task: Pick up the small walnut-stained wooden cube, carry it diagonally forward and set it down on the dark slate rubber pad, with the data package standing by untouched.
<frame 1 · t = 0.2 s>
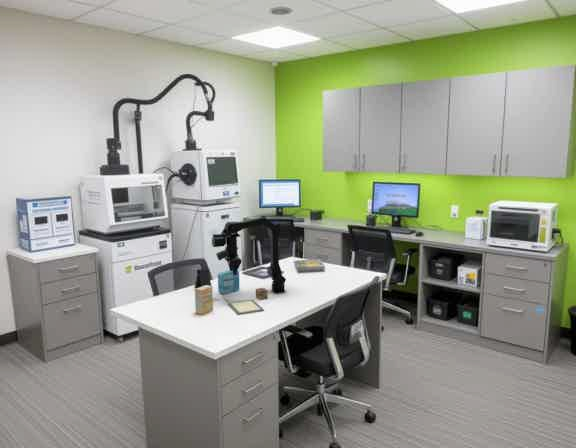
hand: (232, 273, 250), 14 cm above the table, fingers open, 9 cm apart
supplement box: (204, 312, 230), on the table
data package: (229, 292, 264), on the table
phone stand: (203, 288, 271), on the table
slate pad: (245, 307, 236), on the table
walnut cube: (261, 298, 252), on the table
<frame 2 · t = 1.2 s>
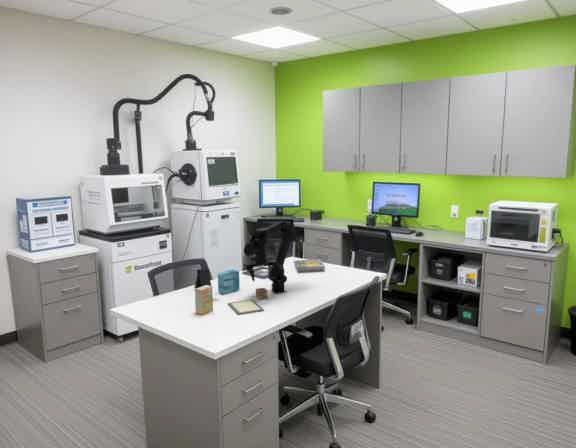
hand: (261, 280, 250), 10 cm above the table, fingers open, 9 cm apart
nothing on the table moved.
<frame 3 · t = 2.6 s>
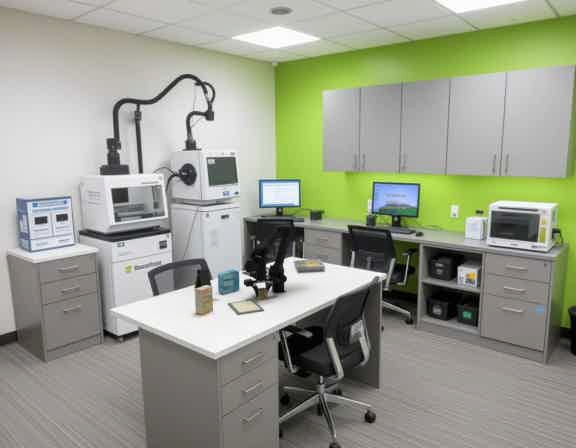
hand: (261, 296, 251), 1 cm above the table, fingers closed on walnut cube, 5 cm apart
walnut cube: (261, 298, 252), on the table, touching gripper
everything else where it was.
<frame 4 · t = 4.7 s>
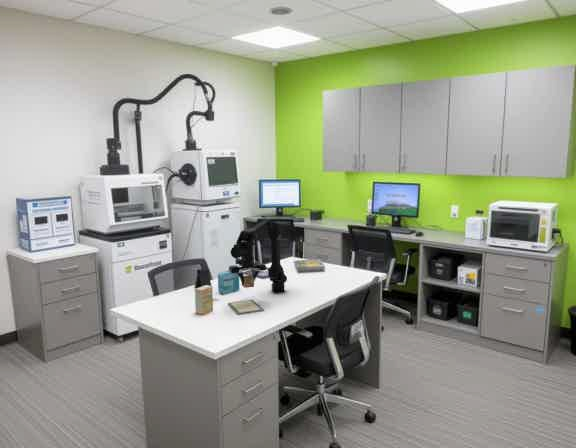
hand: (247, 284, 237), 12 cm above the table, fingers closed on walnut cube, 5 cm apart
walnut cube: (247, 286, 237), point 11 cm above the table, touching gripper
everything else where it was.
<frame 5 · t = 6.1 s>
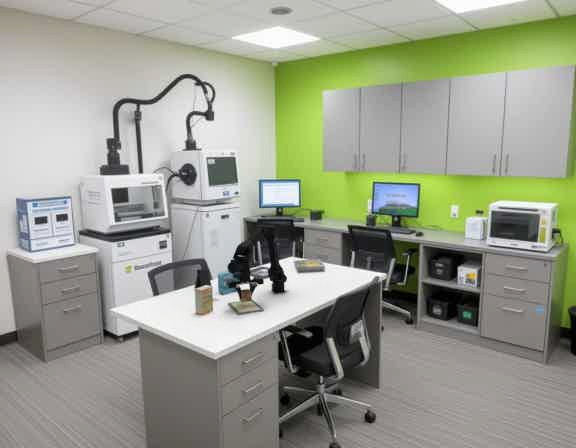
hand: (245, 298, 236), 5 cm above the table, fingers closed on walnut cube, 5 cm apart
walnut cube: (245, 300, 236), point 4 cm above the table, touching gripper
everything else where it was.
when the fingers open (3 cm above the table, at t = 6.9 s): walnut cube drops 1 cm, resting on slate pad.
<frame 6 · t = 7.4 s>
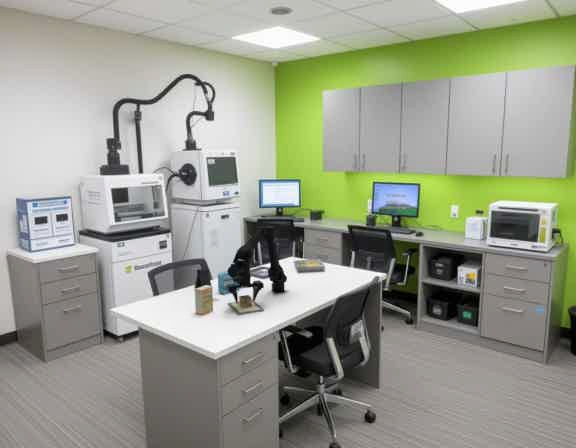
hand: (245, 302, 236), 3 cm above the table, fingers open, 9 cm apart
walnut cube: (245, 306, 236), point 1 cm above the table, touching slate pad
everything else where it was.
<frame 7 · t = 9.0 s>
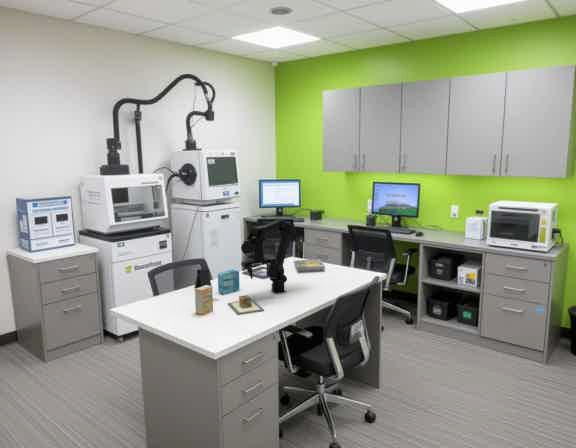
hand: (259, 277, 249), 12 cm above the table, fingers open, 9 cm apart
nothing on the table moved.
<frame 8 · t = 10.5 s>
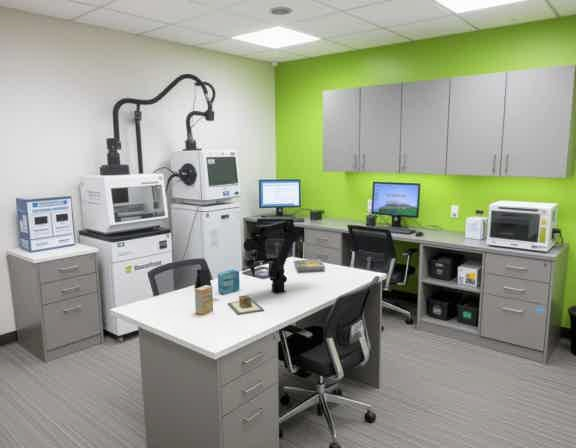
hand: (261, 275, 252), 12 cm above the table, fingers open, 9 cm apart
nothing on the table moved.
at the end: walnut cube inside the target area on the slate pad (0.0 cm from its centre), point 0.7 cm above the slate pad's base; the gripper is holding nothing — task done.
